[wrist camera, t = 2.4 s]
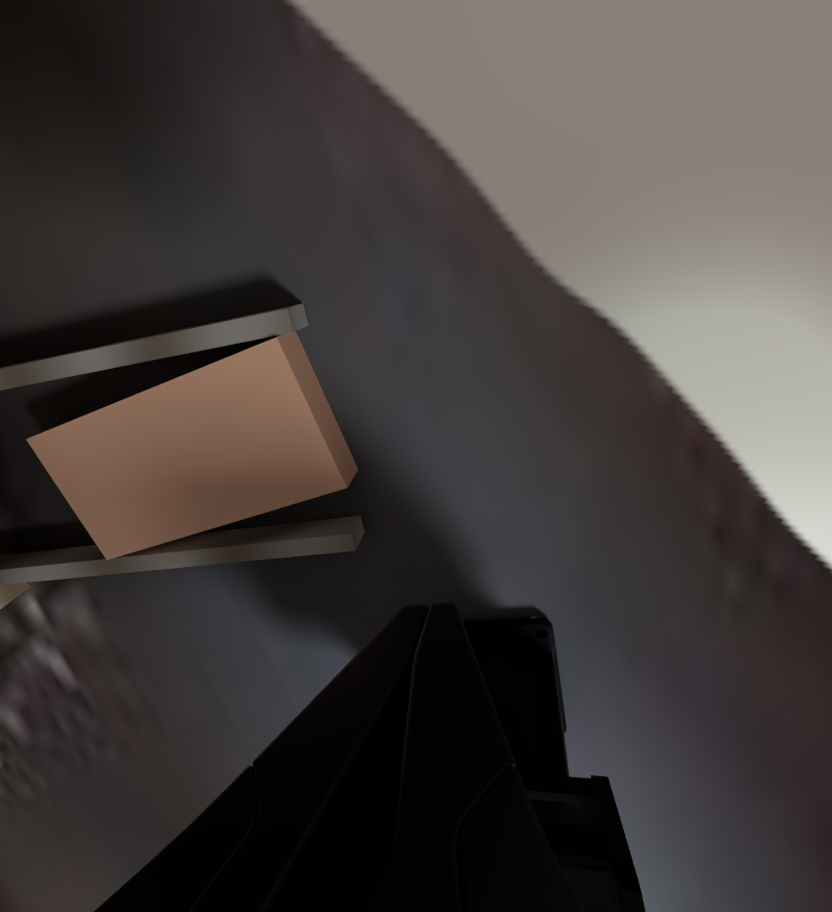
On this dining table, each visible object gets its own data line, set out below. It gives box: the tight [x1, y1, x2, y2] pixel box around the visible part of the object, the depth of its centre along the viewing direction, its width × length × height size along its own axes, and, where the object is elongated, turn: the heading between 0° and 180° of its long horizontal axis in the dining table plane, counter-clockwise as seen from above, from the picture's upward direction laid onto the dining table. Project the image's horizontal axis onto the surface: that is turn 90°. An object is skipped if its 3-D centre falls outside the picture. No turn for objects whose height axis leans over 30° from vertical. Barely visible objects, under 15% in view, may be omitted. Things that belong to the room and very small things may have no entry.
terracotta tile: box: [26, 331, 358, 560], centre depth 21 cm, size 12×6×2 cm, turn 112°
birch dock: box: [0, 303, 365, 609], centre depth 21 cm, size 23×12×5 cm, turn 102°
